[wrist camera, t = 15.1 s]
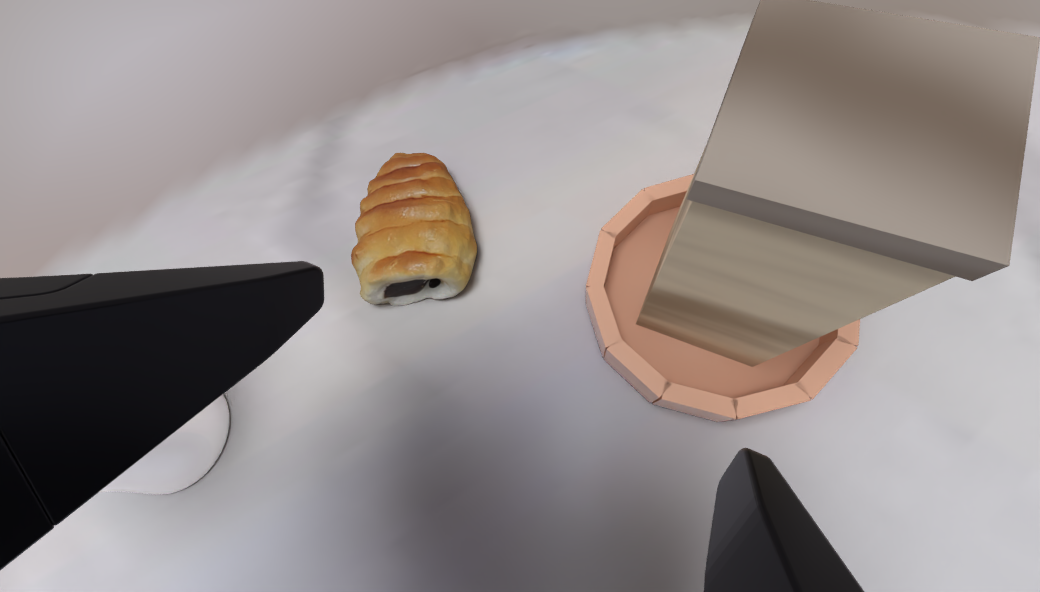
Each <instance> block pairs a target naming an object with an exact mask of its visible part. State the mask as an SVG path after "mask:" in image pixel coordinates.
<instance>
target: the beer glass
mask: <svg viewBox="0 0 1040 592" xmlns="http://www.w3.org/2000/svg"><path fill="white" fill-rule="evenodd" d="M229 422H230V416H229V408H228V404H227V401H226V399H225V397H224V395H223V394H222V395H221V396H220V397H219V398H217V399H216V400H215V401H214V402H212V403H211V404H210V405H208V406H207V407H206V408H205V409H203V410H202V411H201V412H200V413H198V414H197V415H196V416H195V417H193V418H192V419H191V420H189V421H188V422H187V423H186V424H184V425H183V426H182V427H181V428H179V429H178V430H177V431H176V432H174V433H173V434H172V435H170V436H169V437H168V438H167V439H165V440H164V441H163V442H162V443H160V444H159V445H158V446H157V447H155V448H154V449H153V450H151V451H150V452H149V453H148V454H146V455H145V456H144V457H143V458H141V459H140V460H139V461H137V462H136V463H135V464H134V465H132V466H131V467H130V468H129V469H127V470H126V471H125V472H124V473H122V474H121V475H120V476H118V477H117V478H116V479H115V480H113V481H112V482H111V483H110V484H108V485H107V486H106V487H105V488H103V489H102V490H101V491H99V492H132V493H142V494H154V495H161V494H170V493H174V492H178V491H180V490H183V489H185V488H187V487H189V486H191V485H192V484H194V483H195V482H197V481H198V480H199V479H201V478H202V477H203V476H204V475H205V474H206V473H207V472H208V471H209V470H210V468H211V467H212V466H213V465H214V463H215V462H216V460H217V459H218V457H219V455H220V454H221V452H222V450H223V447H224V445H225V442H226V439H227V435H228V431H229ZM99 492H98V493H99Z"/></svg>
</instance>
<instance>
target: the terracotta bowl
mask: <svg viewBox="0 0 1040 592" xmlns="http://www.w3.org/2000/svg"><path fill="white" fill-rule="evenodd" d="M693 176H694V174H692V175H689V176H685V177H682V178H678V179H675V180H671V181H668V182H664V183H661V184H657V185H654V186H650V187H647V188H644V190H643V189H642V190H641V191H640V192H639V193H638V194H637V195H636V196H635V197H634V198H633V199H632V200H630V201H629V202H628V203H627V204H626V205H625V206H624V207H623V208H622V209H621V210H620V211H619V212H618V213H617V214H616V215H615V216H614V217H613V218H612V219H611V220H610V221H609V222H608V223H607V224H605V225H604V226H603V227H602V228H601V230H600V233H599V237H598V241H597V245H596V249H595V253H594V257H593V261H592V265H591V268H590V272H589V276H588V280H587V284H586V306H587V310H588V313H589V316H590V319H591V322H592V325H593V329H594V332H595V335H596V338H597V341H598V344H599V348H600V351H601V354H602V357H604V360H605V361H606V362H607V363H608V364H609V365H610V366H611V367H612V368H613V369H615V370H616V371H617V372H618V373H619V374H620V375H621V376H622V377H623V378H624V379H625V380H626V381H627V382H628V383H629V384H631V385H632V386H633V387H634V388H635V389H636V390H637V391H638V392H639V393H640V394H641V395H642V396H643V397H644V398H645V399H647V400H648V401H649V402H650V403H651V402H653V403H652V404H654V405H657V406H661V407H665V408H668V409H672V410H676V411H679V412H683V413H687V414H690V415H694V416H698V417H701V418H705V419H709V420H712V421H716V422H723V421H729V420H735V419H741V418H744V417H748V416H752V415H756V414H760V413H764V412H768V411H772V410H775V409H779V408H783V407H787V406H791V405H795V404H799V403H803V402H807V401H810V400H811V399H813V398H814V397H815V396H816V395H817V394H818V393H819V391H820V390H821V389H822V388H823V387H824V386H825V385H826V383H827V382H828V381H829V380H830V379H831V378H832V377H833V375H834V374H835V373H836V372H837V371H838V370H839V368H840V367H841V366H842V365H843V364H844V363H845V362H846V360H847V359H848V358H849V357H850V356H851V355H852V354H853V352H854V351H855V350H856V349H857V347H856V346H858V343H859V326H860V319H859V320H857V321H854V322H852V323H850V324H848V325H845V326H843V327H841V328H839V329H836V330H834V331H832V332H830V333H828V334H825V335H823V336H821V337H819V338H816V339H814V340H812V341H810V342H807V343H805V344H803V345H801V346H798V347H796V348H794V349H792V350H789V351H787V352H785V353H783V354H780V355H778V356H776V357H774V358H772V359H769V360H767V361H765V362H763V363H760V364H758V365H756V366H754V367H751V366H748V365H745V364H743V363H740V362H737V361H734V360H732V359H729V358H726V357H724V356H721V355H718V354H715V353H713V352H710V351H707V350H705V349H702V348H699V347H696V346H694V345H691V344H688V343H686V342H683V341H680V340H677V339H675V338H672V337H669V336H667V335H664V334H661V333H658V332H656V331H653V330H650V329H648V328H645V327H642V326H639V325H637V324H636V322H637V319H638V317H639V314H640V311H641V308H642V306H643V303H644V300H645V298H646V295H647V292H648V290H649V287H650V284H651V281H652V279H653V276H654V273H655V271H656V268H657V265H658V263H659V260H660V257H661V254H662V252H663V249H664V246H665V244H666V241H667V238H668V236H669V233H670V230H671V228H672V225H673V223H674V221H675V218H676V216H677V214H678V211H679V209H680V206H681V204H682V202H683V199H684V197H685V195H686V192H687V190H688V187H689V185H690V183H691V180H692V178H693Z"/></svg>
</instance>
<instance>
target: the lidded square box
mask: <svg viewBox="0 0 1040 592" xmlns="http://www.w3.org/2000/svg"><path fill="white" fill-rule="evenodd" d="M1039 41H1040V37H1035V36H1029V35H1022V34H1016V33H1010V32H1004V31H998V30H991V29H985V28H979V27H973V26H966V25H960V24H954V23H948V22H941V21H935V20H929V19H923V18H916V17H910V16H904V15H898V14H892V13H885V12H879V11H873V10H867V9H860V8H854V7H848V6H842V5H835V4H829V3H823V2H817V1H810V0H760V3H759V5H758V8H757V10H756V13H755V15H754V18H753V20H752V23H751V25H750V28H749V31H748V34H747V36H746V39H745V42H744V44H743V47H742V50H741V53H740V55H739V58H738V61H737V63H736V66H735V69H734V72H733V74H732V77H731V80H730V83H729V85H728V88H727V91H726V93H725V96H724V99H723V102H722V104H721V107H720V110H719V112H718V115H717V118H716V121H715V123H714V126H713V129H712V132H711V134H710V137H709V140H708V142H707V145H706V147H705V149H704V152H703V154H702V157H701V159H700V161H699V164H698V166H697V168H696V171H695V173H694V176H693V178H692V180H691V183H690V185H689V187H688V190H687V192H686V195H685V197H684V199H683V202H682V204H681V206H680V209H679V211H678V214H677V216H676V218H675V221H674V223H673V225H672V228H671V230H670V233H669V236H668V238H667V241H666V244H665V246H664V249H663V252H662V254H661V257H660V260H659V263H658V265H657V268H656V271H655V273H654V276H653V279H652V281H651V284H650V287H649V290H648V292H647V295H646V298H645V300H644V303H643V306H642V308H641V311H640V314H639V317H638V319H637V322H636V324H637V325H639V326H642V327H645V328H648V329H650V330H653V331H656V332H658V333H661V334H664V335H667V336H669V337H672V338H675V339H677V340H680V341H683V342H686V343H688V344H691V345H694V346H696V347H699V348H702V349H705V350H707V351H710V352H713V353H715V354H718V355H721V356H724V357H726V358H729V359H732V360H734V361H737V362H740V363H743V364H745V365H748V366H751V367H754V366H756V365H758V364H760V363H763V362H765V361H767V360H769V359H772V358H774V357H776V356H778V355H780V354H783V353H785V352H787V351H789V350H792V349H794V348H796V347H798V346H801V345H803V344H805V343H807V342H810V341H812V340H814V339H816V338H819V337H821V336H823V335H825V334H828V333H830V332H832V331H834V330H836V329H839V328H841V327H843V326H845V325H848V324H850V323H852V322H854V321H857V320H859V319H861V318H863V317H866V316H868V315H870V314H872V313H875V312H877V311H879V310H881V309H884V308H886V307H888V306H890V305H893V304H895V303H897V302H899V301H901V300H904V299H906V298H908V297H910V296H913V295H915V294H917V293H919V292H922V291H924V290H926V289H928V288H931V287H933V286H935V285H937V284H940V283H942V282H944V281H946V280H949V279H951V278H953V277H955V276H956V277H960V278H963V279H967V280H970V281H974V280H976V279H978V278H981V277H983V276H986V275H988V274H991V273H993V272H995V271H998V270H1000V269H1003V268H1005V267H1007V266H1009V264H1010V256H1011V249H1012V241H1013V234H1014V227H1015V219H1016V212H1017V204H1018V197H1019V190H1020V182H1021V175H1022V167H1023V160H1024V153H1025V145H1026V138H1027V130H1028V123H1029V115H1030V108H1031V101H1032V93H1033V86H1034V78H1035V71H1036V64H1037V56H1038V49H1039Z"/></svg>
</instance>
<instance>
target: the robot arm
mask: <svg viewBox="0 0 1040 592" xmlns="http://www.w3.org/2000/svg"><path fill="white" fill-rule="evenodd" d="M323 303H324V278H323V272H322V270H321V269H320V268H319V267H318V266H315V265H313V264H311V263H308V262H304V261H298V262H281V263H264V264H247V265H231V266H214V267H197V268H180V269H163V270H146V271H130V272H113V273H97V274H94V275H92V274H78V275H60V276H40V277H19V278H0V570H1V569H3V568H4V567H5V566H6V565H8V564H9V563H10V562H11V561H13V560H14V559H15V558H16V557H18V556H19V555H20V554H22V553H23V552H24V551H25V550H27V549H28V548H29V547H30V546H32V545H33V544H34V543H35V542H37V541H38V540H39V539H41V538H42V537H43V536H44V535H46V534H47V533H48V532H49V531H51V530H52V529H53V528H54V525H57V524H59V523H60V522H61V521H63V520H64V519H65V518H66V517H68V516H69V515H70V514H72V513H73V512H74V511H75V510H77V509H78V508H79V507H80V506H82V505H83V504H84V503H85V502H87V501H88V500H89V499H91V498H92V497H93V496H94V495H96V494H97V493H98V492H99V491H101V490H102V489H103V488H105V487H106V486H107V485H108V484H110V483H111V482H112V481H113V480H115V479H116V478H117V477H118V476H120V475H121V474H122V473H124V472H125V471H126V470H127V469H129V468H130V467H131V466H132V465H134V464H135V463H136V462H137V461H139V460H140V459H141V458H143V457H144V456H145V455H146V454H148V453H149V452H150V451H151V450H153V449H154V448H155V447H157V446H158V445H159V444H160V443H162V442H163V441H164V440H165V439H167V438H168V437H169V436H170V435H172V434H173V433H174V432H176V431H177V430H178V429H179V428H181V427H182V426H183V425H184V424H186V423H187V422H188V421H189V420H191V419H192V418H193V417H195V416H196V415H197V414H198V413H200V412H201V411H202V410H203V409H205V408H206V407H207V406H208V405H210V404H211V403H212V402H214V401H215V400H216V399H217V398H219V397H220V396H221V395H222V394H224V393H225V392H226V391H228V390H229V389H230V388H231V387H233V386H234V385H235V384H236V383H238V382H239V381H240V380H241V379H243V378H244V377H245V376H247V375H248V374H249V373H250V372H252V371H253V370H254V369H255V368H257V367H258V366H259V365H260V364H262V363H263V362H264V361H265V360H267V359H268V358H269V357H270V356H271V355H272V354H274V353H275V352H276V351H277V350H278V349H279V348H280V347H281V346H282V345H283V344H284V343H285V342H286V341H288V340H289V339H290V338H291V337H292V336H293V335H294V334H295V333H296V332H297V331H298V330H299V329H300V328H301V327H302V326H303V325H304V324H305V323H306V322H308V321H309V320H310V319H311V318H312V317H313V316H314V315H315V314H316V313H317V312H318V311H319V310H320V309H321V307H322V305H323ZM704 592H864V591H863V589H862V588H861V586H860V585H859V584H858V582H857V581H856V579H855V578H854V576H853V575H852V574H851V572H850V571H849V569H848V568H847V567H846V565H845V564H844V562H843V561H842V559H841V558H840V557H839V555H838V554H837V552H836V551H835V550H834V548H833V547H832V545H831V544H830V542H829V541H828V540H827V538H826V537H825V535H824V534H823V533H822V531H821V530H820V528H819V527H818V525H817V524H816V523H815V521H814V520H813V518H812V517H811V516H810V514H809V513H808V511H807V510H806V508H805V507H804V506H803V504H802V503H801V501H800V500H799V499H798V497H797V496H796V494H795V493H794V492H793V490H792V489H791V487H790V486H789V484H788V483H787V482H786V480H785V479H784V477H783V476H782V475H781V473H780V472H779V470H778V469H777V467H776V466H775V465H774V463H773V462H772V461H771V459H770V458H768V457H767V456H765V455H762V454H760V453H758V452H755V451H753V450H750V449H748V448H743V449H741V450H740V451H739V452H738V453H737V455H736V456H735V458H734V459H733V461H732V462H731V464H730V465H729V467H728V468H727V470H726V471H725V473H724V474H723V476H722V478H721V480H720V482H719V485H718V488H717V493H716V500H715V507H714V514H713V521H712V528H711V534H710V541H709V548H708V555H707V562H706V570H705V583H704Z"/></svg>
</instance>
